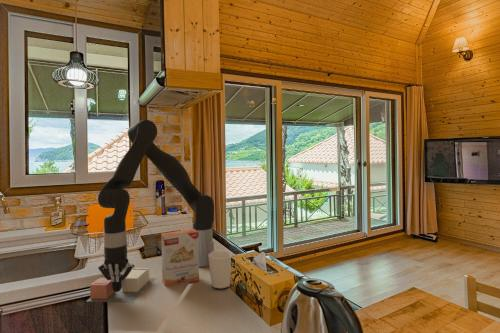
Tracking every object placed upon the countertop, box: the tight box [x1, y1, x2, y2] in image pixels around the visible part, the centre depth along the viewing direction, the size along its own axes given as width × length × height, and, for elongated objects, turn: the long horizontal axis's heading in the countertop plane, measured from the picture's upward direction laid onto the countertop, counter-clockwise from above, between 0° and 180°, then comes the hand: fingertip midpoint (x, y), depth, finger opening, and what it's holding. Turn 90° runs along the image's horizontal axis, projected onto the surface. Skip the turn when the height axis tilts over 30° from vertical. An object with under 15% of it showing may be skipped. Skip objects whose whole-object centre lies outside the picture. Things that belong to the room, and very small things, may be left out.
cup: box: [208, 250, 234, 291], centre depth 115 cm, size 10×10×13 cm
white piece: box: [86, 267, 157, 304], centre depth 112 cm, size 17×20×6 cm
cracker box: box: [160, 228, 200, 287], centre depth 118 cm, size 14×6×21 cm, turn 118°
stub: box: [89, 277, 114, 299], centre depth 107 cm, size 6×6×5 cm
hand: (117, 290), depth 106 cm, fingers closed
